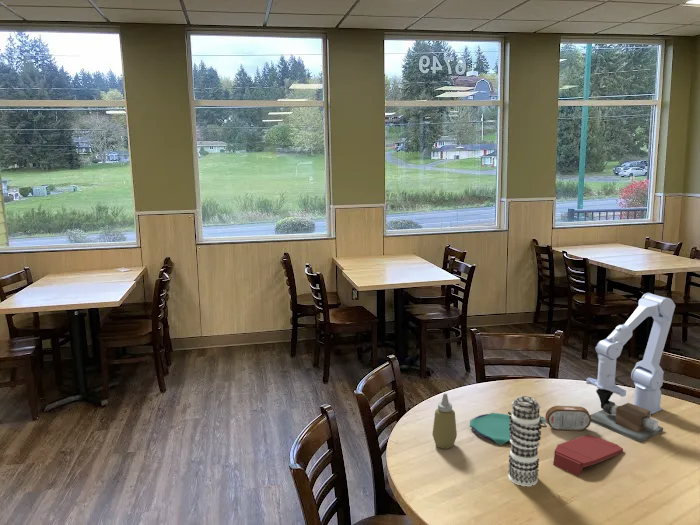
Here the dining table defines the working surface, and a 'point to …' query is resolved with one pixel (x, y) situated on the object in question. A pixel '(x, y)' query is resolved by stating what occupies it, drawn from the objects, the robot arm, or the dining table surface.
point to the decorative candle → (524, 441)
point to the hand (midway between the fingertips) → (604, 408)
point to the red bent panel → (583, 453)
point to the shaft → (648, 422)
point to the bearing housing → (626, 422)
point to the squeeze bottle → (444, 424)
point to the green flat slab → (494, 426)
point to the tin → (568, 418)
